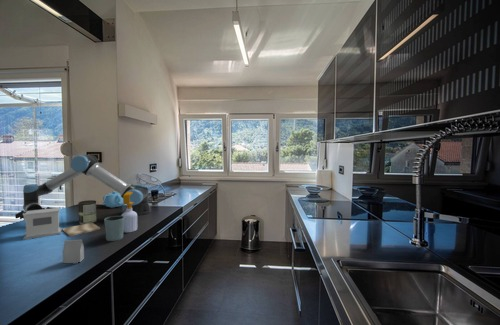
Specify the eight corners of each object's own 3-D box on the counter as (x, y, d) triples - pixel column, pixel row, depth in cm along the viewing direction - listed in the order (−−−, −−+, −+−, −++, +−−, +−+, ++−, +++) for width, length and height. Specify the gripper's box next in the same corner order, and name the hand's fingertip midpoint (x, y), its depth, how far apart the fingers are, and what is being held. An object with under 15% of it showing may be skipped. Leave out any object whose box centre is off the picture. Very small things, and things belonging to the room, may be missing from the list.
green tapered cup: (110, 243, 127) (109, 221, 126) (100, 239, 132) (100, 218, 131) (128, 237, 135) (127, 217, 135) (118, 233, 141) (118, 214, 140)
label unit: (61, 229, 146) (60, 207, 146) (60, 234, 138) (59, 210, 138) (26, 234, 137) (25, 210, 136) (23, 239, 129) (22, 214, 128)
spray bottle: (140, 228, 151) (139, 191, 150) (131, 233, 142) (131, 193, 141) (127, 227, 152) (126, 190, 151) (118, 232, 143) (117, 193, 142)
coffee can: (75, 223, 157) (74, 203, 157) (84, 219, 168) (84, 200, 167) (91, 223, 158) (90, 203, 158) (99, 219, 169) (99, 200, 168)
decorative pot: (99, 208, 198) (99, 193, 197) (110, 204, 214) (109, 189, 213) (119, 208, 199) (119, 193, 198) (128, 204, 215) (127, 189, 214)
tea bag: (80, 262, 104) (80, 241, 104) (62, 264, 103) (62, 242, 102) (84, 259, 108) (83, 238, 107) (67, 260, 106) (66, 239, 106)
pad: (91, 224, 158) (91, 222, 158) (100, 229, 148) (100, 227, 147) (62, 230, 145) (62, 228, 145) (69, 236, 135) (69, 234, 135)
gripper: (57, 211, 165) (65, 217, 152) (7, 218, 146) (11, 226, 132) (57, 200, 165) (65, 205, 151) (7, 207, 145) (11, 213, 132)
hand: (40, 215), depth 142 cm, fingers open, 13 cm apart
